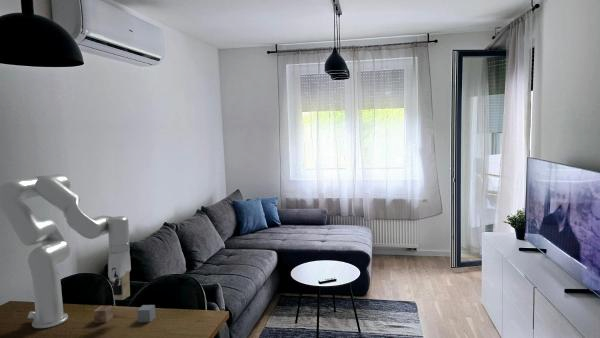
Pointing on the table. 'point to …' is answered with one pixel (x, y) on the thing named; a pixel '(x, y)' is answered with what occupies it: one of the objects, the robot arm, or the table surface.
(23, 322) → the table surface
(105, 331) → the table surface
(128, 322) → the table surface
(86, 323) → the table surface
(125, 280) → the box
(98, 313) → the tan cube
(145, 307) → the grey cube
